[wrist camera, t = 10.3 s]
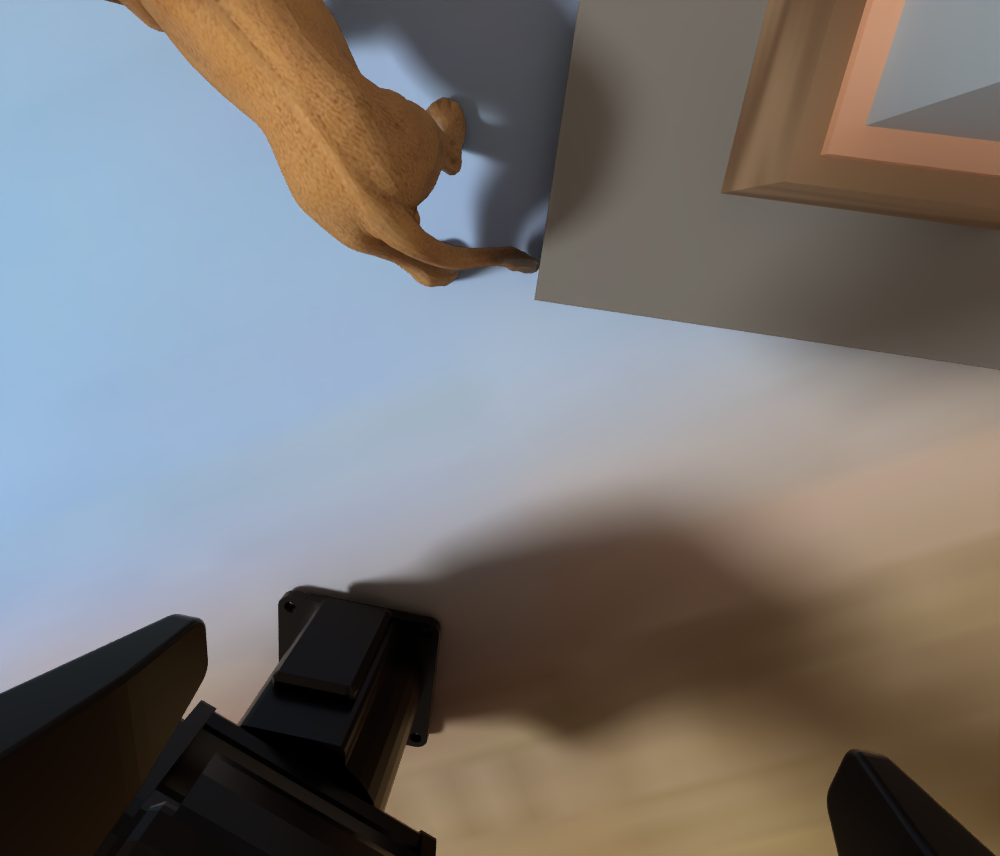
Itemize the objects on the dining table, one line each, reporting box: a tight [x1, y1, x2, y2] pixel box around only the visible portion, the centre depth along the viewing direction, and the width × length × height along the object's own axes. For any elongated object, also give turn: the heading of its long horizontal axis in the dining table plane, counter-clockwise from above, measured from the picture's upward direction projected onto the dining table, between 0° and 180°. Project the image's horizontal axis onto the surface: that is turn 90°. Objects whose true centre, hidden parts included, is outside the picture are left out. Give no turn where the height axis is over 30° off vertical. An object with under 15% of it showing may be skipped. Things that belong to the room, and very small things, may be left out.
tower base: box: [535, 0, 1000, 370], centre depth 12 cm, size 14×16×6 cm
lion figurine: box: [106, 0, 540, 287], centre depth 12 cm, size 15×5×9 cm, turn 51°
